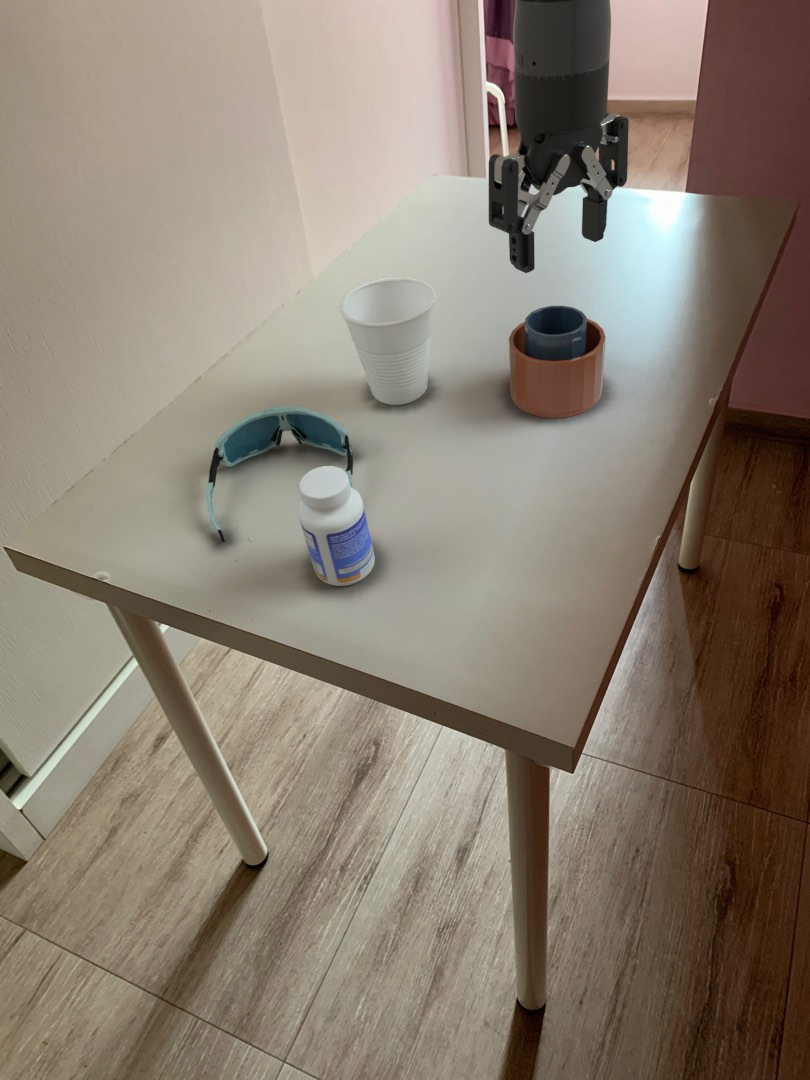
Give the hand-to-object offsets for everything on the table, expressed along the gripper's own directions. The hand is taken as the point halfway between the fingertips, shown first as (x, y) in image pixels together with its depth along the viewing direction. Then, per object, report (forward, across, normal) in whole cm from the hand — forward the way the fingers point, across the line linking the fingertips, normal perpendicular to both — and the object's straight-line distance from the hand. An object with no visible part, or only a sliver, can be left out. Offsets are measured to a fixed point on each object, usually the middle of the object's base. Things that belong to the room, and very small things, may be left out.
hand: (558, 253), depth 75 cm
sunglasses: (+15, -30, +6) cm, 34 cm away
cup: (+15, -12, +12) cm, 23 cm away
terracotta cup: (+15, 0, 0) cm, 15 cm away
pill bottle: (+16, -31, -7) cm, 35 cm away
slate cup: (+15, 0, 0) cm, 15 cm away
